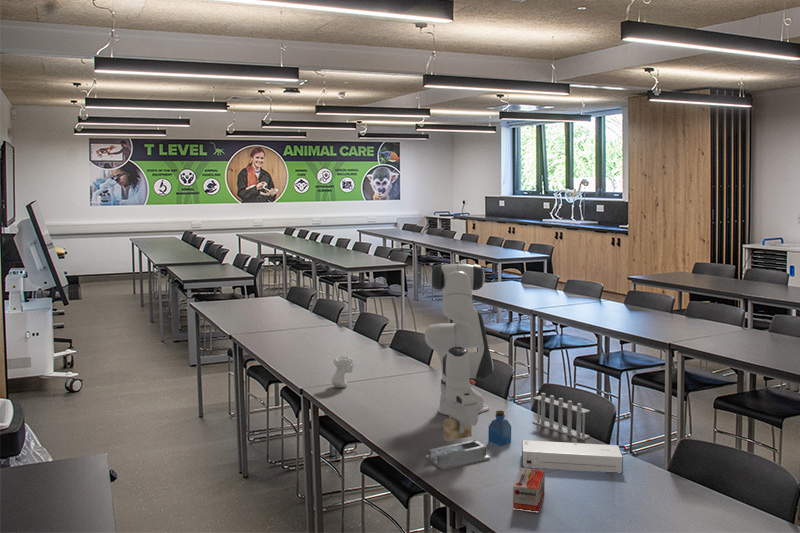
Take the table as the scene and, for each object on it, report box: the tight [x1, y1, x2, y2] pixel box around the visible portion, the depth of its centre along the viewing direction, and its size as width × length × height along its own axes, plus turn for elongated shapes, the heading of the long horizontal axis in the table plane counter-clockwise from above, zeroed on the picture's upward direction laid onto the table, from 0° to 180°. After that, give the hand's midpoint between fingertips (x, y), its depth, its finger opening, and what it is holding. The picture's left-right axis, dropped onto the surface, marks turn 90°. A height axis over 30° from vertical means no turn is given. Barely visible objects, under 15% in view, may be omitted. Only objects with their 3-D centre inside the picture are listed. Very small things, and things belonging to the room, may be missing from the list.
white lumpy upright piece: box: [331, 355, 355, 388], centre depth 335 cm, size 10×11×15 cm
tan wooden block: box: [443, 418, 473, 442], centre depth 246 cm, size 10×3×7 cm, turn 118°
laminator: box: [521, 439, 624, 473], centre depth 242 cm, size 34×12×6 cm, turn 80°
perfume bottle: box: [487, 410, 512, 447], centre depth 263 cm, size 6×6×12 cm
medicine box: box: [512, 467, 546, 512], centre depth 214 cm, size 15×8×8 cm, turn 162°
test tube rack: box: [531, 392, 591, 441], centre depth 275 cm, size 25×4×13 cm, turn 39°
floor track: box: [425, 439, 491, 471], centre depth 247 cm, size 20×12×4 cm, turn 118°
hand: (457, 430), depth 246 cm, fingers closed on tan wooden block, 3 cm apart
